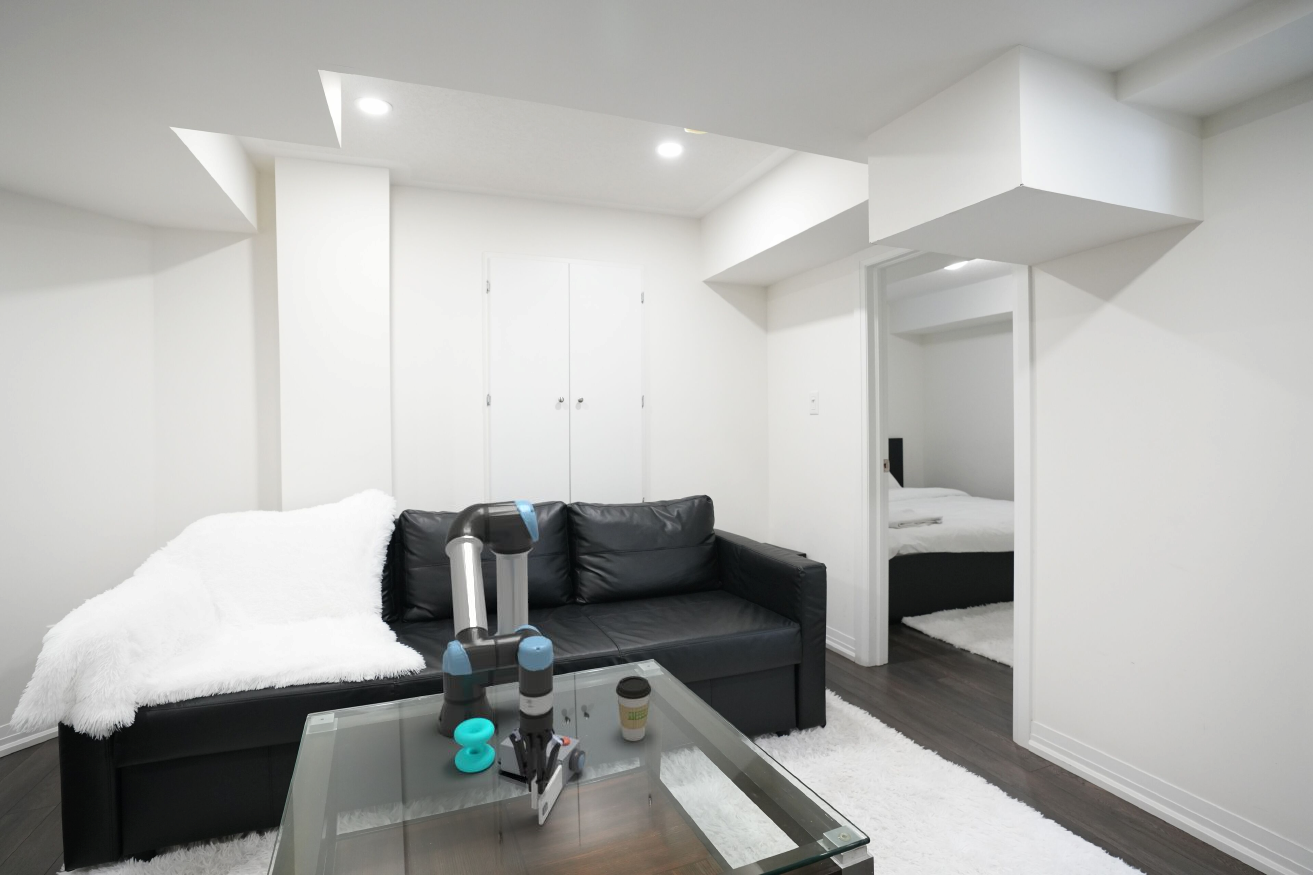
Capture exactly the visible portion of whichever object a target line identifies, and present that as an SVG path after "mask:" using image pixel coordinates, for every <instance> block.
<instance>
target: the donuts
mask: <svg viewBox="0 0 1313 875" xmlns="http://www.w3.org/2000/svg"><path fill="white" fill-rule="evenodd" d="M494 732H495V726H494V723H493V722H490V721H489V720H487V719H483V718H474V719H469V720H466V721H464V722H462V723H461V724H460V725H459V726H458V727H457V728H456V729H455V732H454V738H453V739H454V740H455V742H456V743H457V744H458V745H460V746H462V748H461V749H460V750H459V751H457V753H456V755H455V756H454V764H455V766H456V768H457V769H458V770H459V771H462V772H464V773H478V772H481V771H483V770H486V769H488V768H489V767H490V766H491V765H492V764H493V762H494V760H495V758H496V751H495V749H494V748H493V747H492V746H491V745H490V744H488V743H487V742H488V741H489V740H491V738H492V737H493V735H494Z"/></svg>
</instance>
